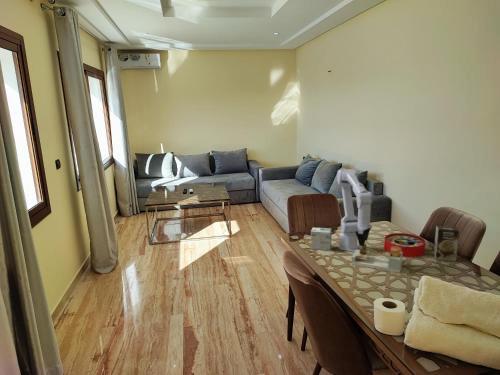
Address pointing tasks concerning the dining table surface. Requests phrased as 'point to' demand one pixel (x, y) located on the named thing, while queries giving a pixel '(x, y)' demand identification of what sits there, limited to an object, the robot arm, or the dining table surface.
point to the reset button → (396, 251)
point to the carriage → (363, 253)
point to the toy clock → (405, 244)
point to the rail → (380, 262)
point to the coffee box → (446, 243)
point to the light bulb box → (321, 238)
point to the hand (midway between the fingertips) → (363, 242)
